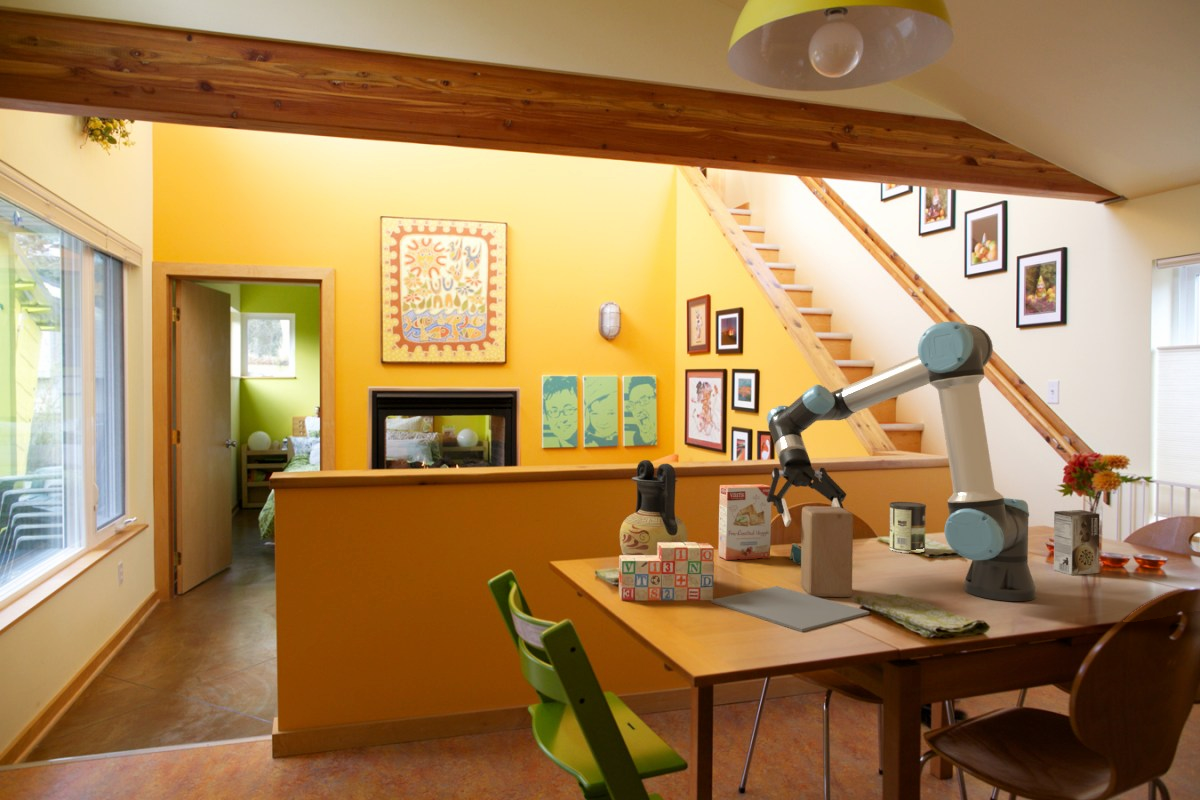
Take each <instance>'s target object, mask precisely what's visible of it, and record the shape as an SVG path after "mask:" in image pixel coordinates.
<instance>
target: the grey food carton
mask: <svg viewBox="0 0 1200 800" xmlns="http://www.w3.org/2000/svg"><path fill="white" fill-rule="evenodd" d="M1053 513H1054V520H1053V521H1054V523H1053V524H1054V525H1053V528H1054V529H1053V530H1054V531H1053V532H1054V533H1053V535H1054V536H1053V547H1054V548H1053V570H1054V571H1057V572H1060V573H1063V574H1067V575H1069V576H1078V575H1079V576H1080V575H1090V574H1091V575H1092V574H1099V573H1100V513H1098V512H1092V511H1088V510H1084V509H1083V510H1082V509H1078V510H1075V509H1073V510H1061V511H1060V510H1059V511H1056V510H1055V511H1054V512H1053Z"/></svg>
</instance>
